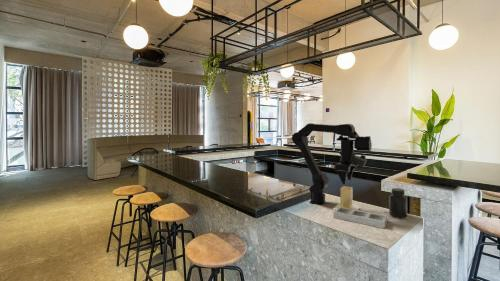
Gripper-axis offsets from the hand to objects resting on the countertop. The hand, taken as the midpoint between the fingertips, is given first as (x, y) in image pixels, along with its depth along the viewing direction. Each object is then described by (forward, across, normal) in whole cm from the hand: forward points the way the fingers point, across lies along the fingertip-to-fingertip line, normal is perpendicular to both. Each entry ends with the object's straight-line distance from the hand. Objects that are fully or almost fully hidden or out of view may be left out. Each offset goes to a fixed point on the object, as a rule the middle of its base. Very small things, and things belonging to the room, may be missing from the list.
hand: (346, 181), depth 118 cm
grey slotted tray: (+13, -11, -8) cm, 19 cm away
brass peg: (+12, -1, 0) cm, 13 cm away
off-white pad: (+13, -1, 0) cm, 13 cm away
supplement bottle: (+13, +2, -21) cm, 25 cm away
